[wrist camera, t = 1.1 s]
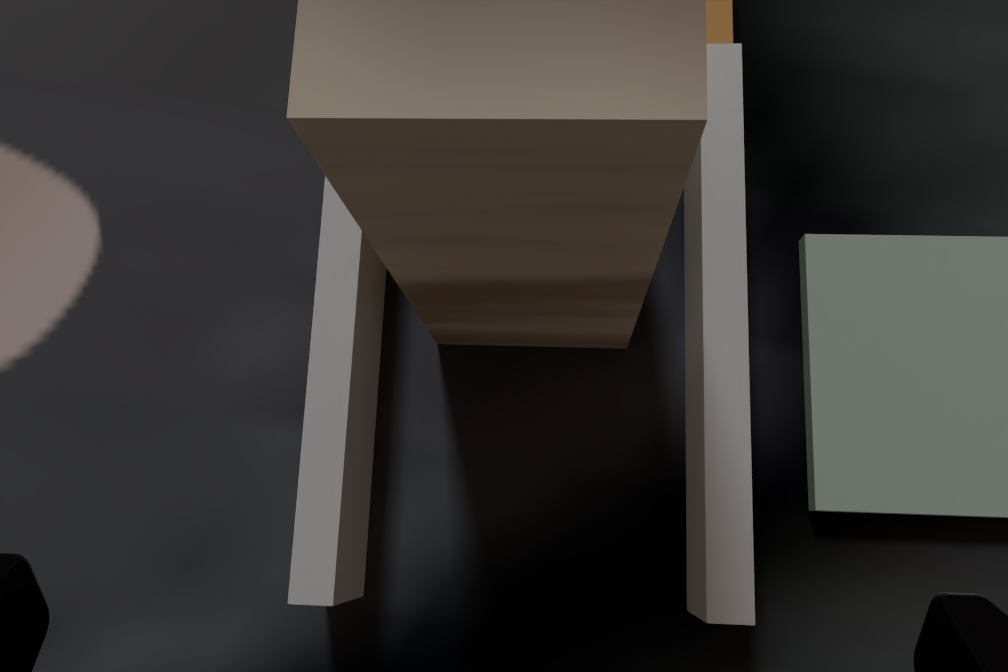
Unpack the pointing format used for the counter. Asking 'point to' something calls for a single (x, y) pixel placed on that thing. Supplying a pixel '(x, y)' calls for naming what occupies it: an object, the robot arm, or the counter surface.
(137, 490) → the counter surface
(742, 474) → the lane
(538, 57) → the beech block
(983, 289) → the pad
